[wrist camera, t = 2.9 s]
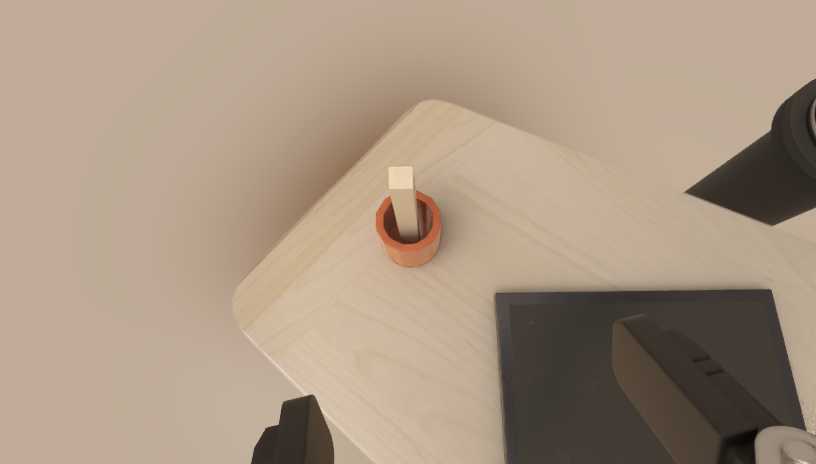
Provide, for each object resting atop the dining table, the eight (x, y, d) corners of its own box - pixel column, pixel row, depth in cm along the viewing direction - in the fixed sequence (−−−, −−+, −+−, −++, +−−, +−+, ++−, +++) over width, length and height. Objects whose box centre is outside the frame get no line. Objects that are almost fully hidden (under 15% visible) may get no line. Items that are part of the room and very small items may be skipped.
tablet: (762, 291, 37) (772, 288, 36) (816, 512, 32) (829, 517, 31) (494, 294, 38) (495, 292, 37) (507, 509, 33) (509, 514, 32)
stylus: (419, 230, 39) (413, 165, 27) (419, 246, 39) (413, 188, 27) (402, 230, 39) (388, 166, 27) (402, 246, 39) (388, 189, 27)
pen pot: (438, 212, 40) (439, 189, 35) (440, 267, 39) (441, 250, 34) (383, 214, 41) (376, 190, 35) (383, 267, 39) (375, 251, 34)
